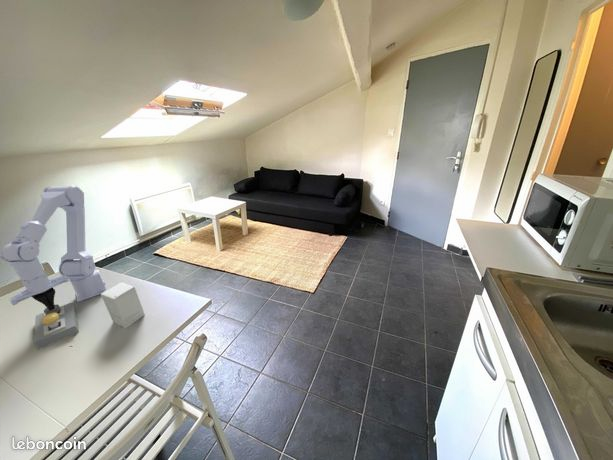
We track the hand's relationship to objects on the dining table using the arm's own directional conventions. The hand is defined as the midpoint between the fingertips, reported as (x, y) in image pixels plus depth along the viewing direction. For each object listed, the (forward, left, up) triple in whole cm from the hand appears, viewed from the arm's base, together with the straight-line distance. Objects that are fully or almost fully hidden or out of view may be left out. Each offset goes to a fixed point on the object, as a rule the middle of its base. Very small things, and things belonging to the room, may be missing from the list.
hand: (51, 308), depth 91 cm
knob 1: (0, 0, -5) cm, 5 cm away
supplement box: (-19, +17, -6) cm, 26 cm away
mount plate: (0, +4, -6) cm, 7 cm away
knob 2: (0, +8, -3) cm, 9 cm away
